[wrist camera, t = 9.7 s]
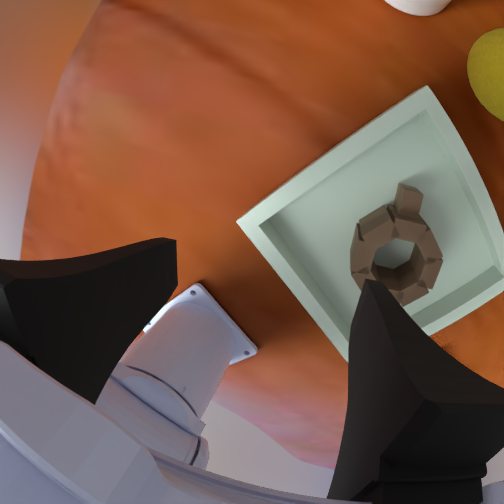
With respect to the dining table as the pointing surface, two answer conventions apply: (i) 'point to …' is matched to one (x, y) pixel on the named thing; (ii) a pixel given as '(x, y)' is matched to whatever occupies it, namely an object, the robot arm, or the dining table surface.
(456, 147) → the tray
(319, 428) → the dining table surface
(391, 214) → the ring
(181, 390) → the robot arm
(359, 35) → the dining table surface
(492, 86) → the lemon
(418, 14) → the drinking glass
